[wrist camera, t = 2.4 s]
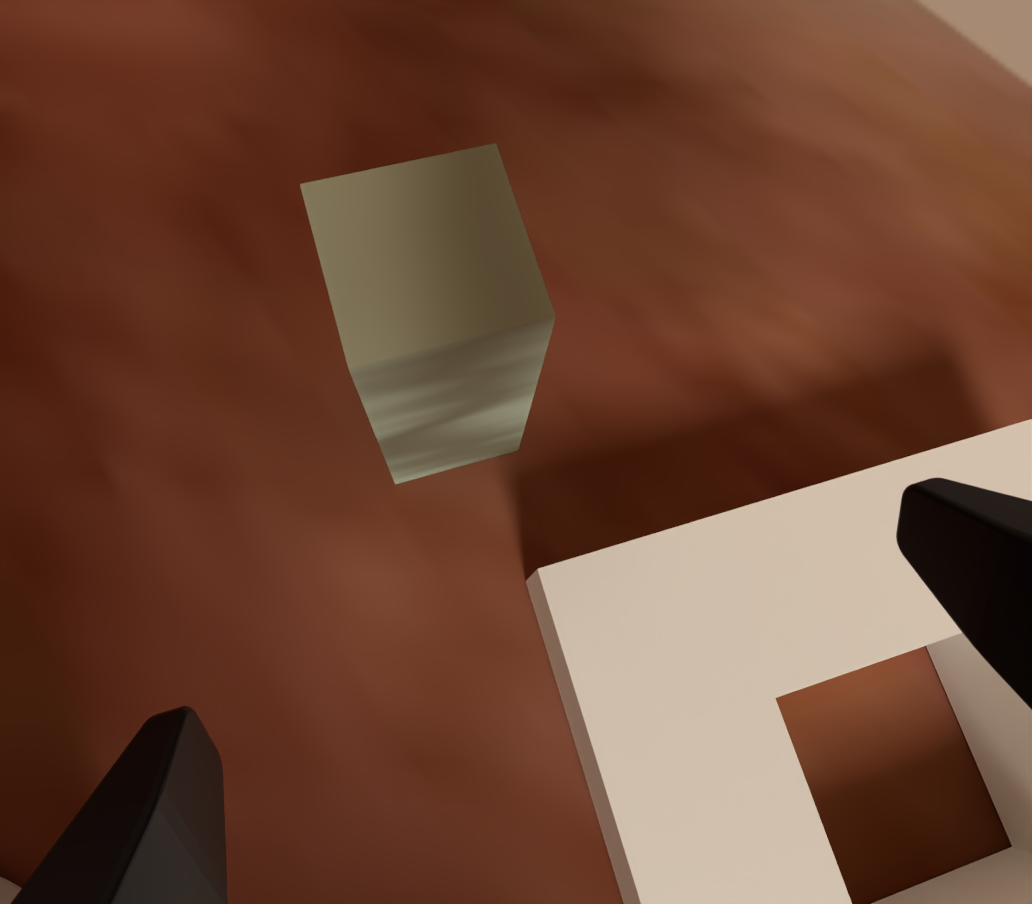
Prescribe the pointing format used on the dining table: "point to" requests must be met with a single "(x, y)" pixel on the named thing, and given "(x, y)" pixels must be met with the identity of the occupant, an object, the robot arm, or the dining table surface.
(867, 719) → the dining table surface
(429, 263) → the peg
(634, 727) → the socket block
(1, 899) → the cylinder vase
